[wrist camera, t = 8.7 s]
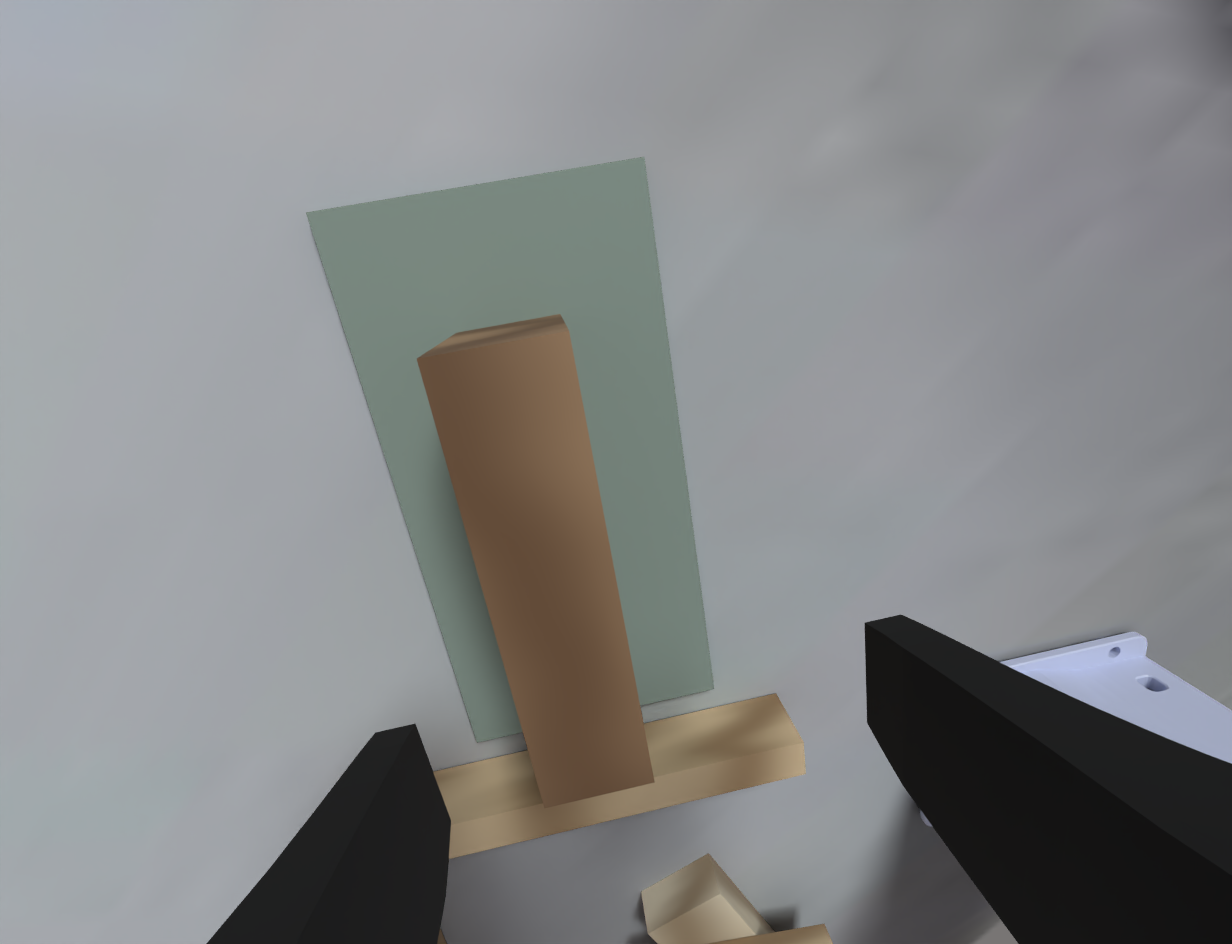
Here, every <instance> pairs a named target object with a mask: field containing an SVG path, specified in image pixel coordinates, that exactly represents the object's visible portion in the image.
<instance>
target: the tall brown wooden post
mask: <svg viewBox="0 0 1232 944" xmlns="http://www.w3.org/2000/svg"><path fill="white" fill-rule="evenodd" d="M417 362H418V366H419V369H420V373H421V376H422V380H423V383H424V387H425V390H426V394H427V397H428V401H429V405H430V408H431V412H432V415H433V419H434V422H435V426H436V429H437V433H438V436H439V440H440V443H441V447H442V450H443V454H444V457H445V461H446V464H447V468H448V471H449V475H450V478H451V482H452V485H453V489H454V492H455V496H456V499H457V503H458V506H459V510H460V513H461V517H462V520H463V524H464V527H465V531H466V534H467V538H468V541H469V545H470V549H471V552H472V556H473V559H474V563H475V566H476V570H477V573H478V577H479V580H480V584H481V587H482V591H483V594H484V598H485V601H486V605H487V608H488V612H489V615H490V619H491V622H492V626H493V629H494V633H495V636H496V640H497V643H498V647H499V650H500V654H501V657H502V661H503V664H504V668H505V671H506V675H507V678H508V682H509V685H510V689H511V693H512V696H513V700H514V703H515V707H516V710H517V714H518V717H519V721H520V724H521V728H522V731H523V735H524V738H525V742H526V745H527V749H528V752H529V756H530V759H531V763H532V766H533V770H534V773H535V777H536V780H537V784H538V787H539V791H540V794H541V798H542V801H543V805H544V808H549V807H553V806H557V805H561V804H566V803H570V802H574V801H578V800H583V799H587V798H591V797H595V796H600V795H604V794H608V793H612V792H617V791H621V790H625V789H629V788H634V787H638V786H642V785H646V784H651V783H655V781H654V776H653V771H652V765H651V760H650V755H649V750H648V744H647V739H646V734H645V729H644V723H643V718H642V713H641V707H640V702H639V697H638V692H637V686H636V681H635V676H634V671H633V665H632V660H631V655H630V649H629V644H628V639H627V634H626V628H625V623H624V618H623V613H622V607H621V602H620V597H619V591H618V586H617V581H616V576H615V570H614V565H613V560H612V554H611V549H610V544H609V539H608V533H607V528H606V523H605V518H604V512H603V507H602V502H601V496H600V491H599V486H598V481H597V475H596V470H595V465H594V460H593V454H592V449H591V444H590V438H589V433H588V428H587V423H586V417H585V412H584V407H583V402H582V396H581V391H580V386H579V380H578V375H577V370H576V365H575V359H574V354H573V349H572V344H571V338H570V333H569V330H568V328H567V326H566V324H565V322H564V320H563V318H562V316H561V314H557V315H552V316H546V317H541V318H535V319H530V320H524V321H518V322H513V323H507V324H502V325H496V326H491V327H485V328H480V329H474V330H469V331H463V332H458V333H455V334H454V335H452V336H451V337H449V338H448V339H446V340H444V341H443V342H441V343H440V344H438V345H437V346H435V347H434V348H432V349H431V350H429V351H428V352H426V353H424V354H423V355H421V356H420V357H418V358H417Z"/></svg>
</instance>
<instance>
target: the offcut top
mask: <svg viewBox="0 0 1232 944" xmlns="http://www.w3.org/2000/svg"><path fill="white" fill-rule="evenodd" d="M709 944H833V943H832V940H831V938H830V936H829V934H828V931H827V929H826V927H825V924H820V925H814V926H809V927H803V928H797V929H791V930H785V931H779V932H774V933H768V934H762V935H756V936H750V937H744V938H739V939H733V940H727V941H721V942H715V943H709Z"/></svg>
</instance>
